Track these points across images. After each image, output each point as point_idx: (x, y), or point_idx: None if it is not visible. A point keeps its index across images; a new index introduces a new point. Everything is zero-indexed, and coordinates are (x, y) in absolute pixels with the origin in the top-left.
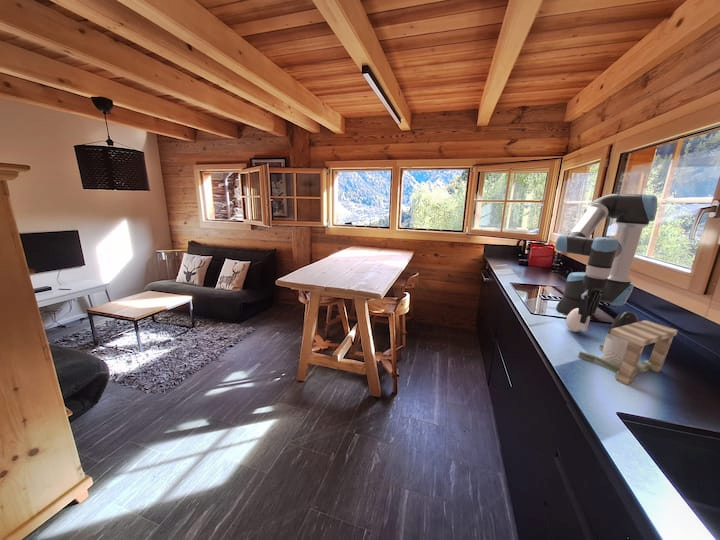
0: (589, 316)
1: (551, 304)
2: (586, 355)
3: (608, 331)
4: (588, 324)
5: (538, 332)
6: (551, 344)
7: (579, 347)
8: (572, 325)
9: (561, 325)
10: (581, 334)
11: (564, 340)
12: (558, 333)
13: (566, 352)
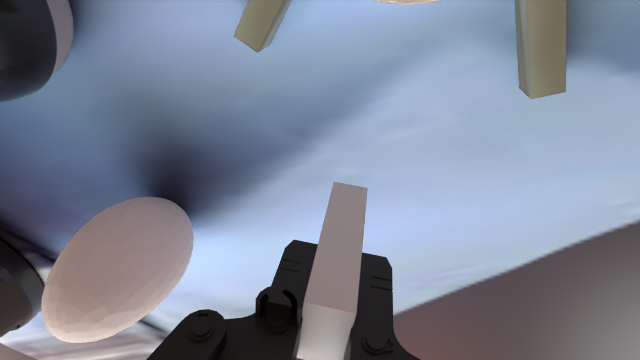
0: (315, 310)
1: (13, 330)
2: (562, 43)
3: (32, 89)
4: (324, 222)
5: None
6: (482, 229)
7: (366, 127)
8: (187, 245)
9: None
10: (165, 176)
11: None
12: (283, 245)
13: (534, 148)
